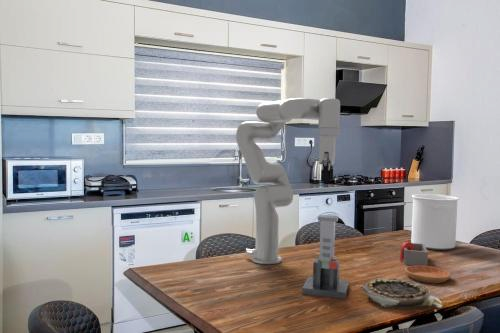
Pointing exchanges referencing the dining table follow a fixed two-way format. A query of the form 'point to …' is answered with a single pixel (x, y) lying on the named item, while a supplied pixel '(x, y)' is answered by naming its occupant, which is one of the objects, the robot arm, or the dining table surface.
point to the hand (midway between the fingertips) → (327, 180)
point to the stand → (326, 281)
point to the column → (327, 239)
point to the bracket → (405, 245)
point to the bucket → (434, 221)
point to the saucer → (427, 274)
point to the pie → (399, 293)
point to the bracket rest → (416, 255)
